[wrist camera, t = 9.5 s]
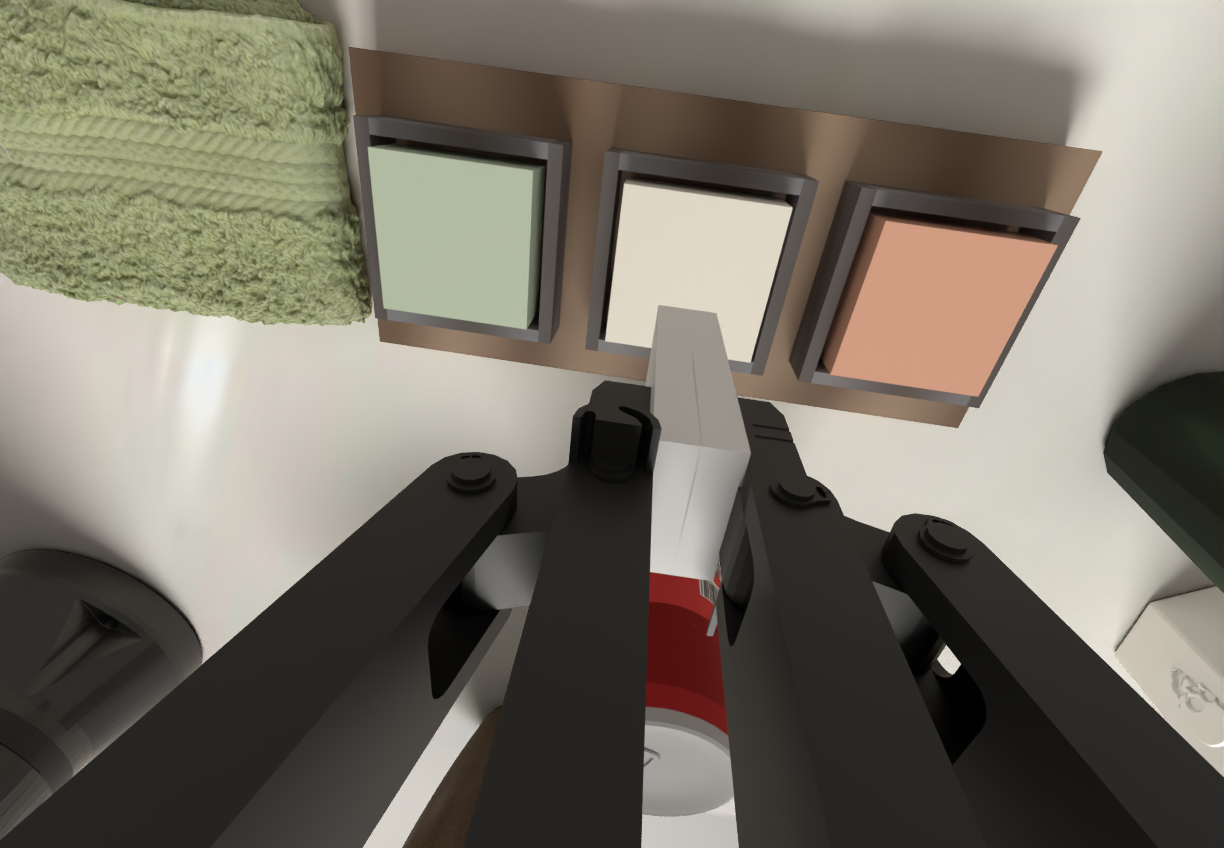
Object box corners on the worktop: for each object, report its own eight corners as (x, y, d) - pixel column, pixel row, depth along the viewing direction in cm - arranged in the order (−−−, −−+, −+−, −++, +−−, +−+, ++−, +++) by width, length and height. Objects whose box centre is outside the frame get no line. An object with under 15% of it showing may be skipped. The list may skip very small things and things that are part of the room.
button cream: (610, 322, 22) (605, 341, 20) (628, 176, 19) (624, 183, 18) (744, 342, 22) (750, 362, 20) (781, 198, 19) (792, 207, 17)
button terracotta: (817, 353, 22) (830, 374, 20) (866, 210, 19) (886, 220, 17) (953, 374, 22) (978, 396, 20) (1023, 233, 19) (1057, 245, 17)
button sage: (405, 292, 22) (383, 308, 21) (394, 143, 19) (367, 146, 18) (537, 312, 22) (526, 329, 20) (545, 164, 19) (533, 170, 18)
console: (399, 325, 26) (358, 359, 23) (375, 52, 21) (316, 40, 17) (938, 406, 26) (980, 452, 22) (1065, 147, 20) (1147, 155, 17)
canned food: (608, 523, 31) (581, 704, 22) (742, 555, 31) (773, 747, 22) (583, 610, 35) (550, 796, 26) (702, 638, 35) (713, 832, 26)
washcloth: (-99, -52, 21) (-218, -76, 18) (352, -2, 20) (301, -19, 17) (49, 285, 27) (-21, 305, 25) (391, 330, 27) (359, 356, 24)
